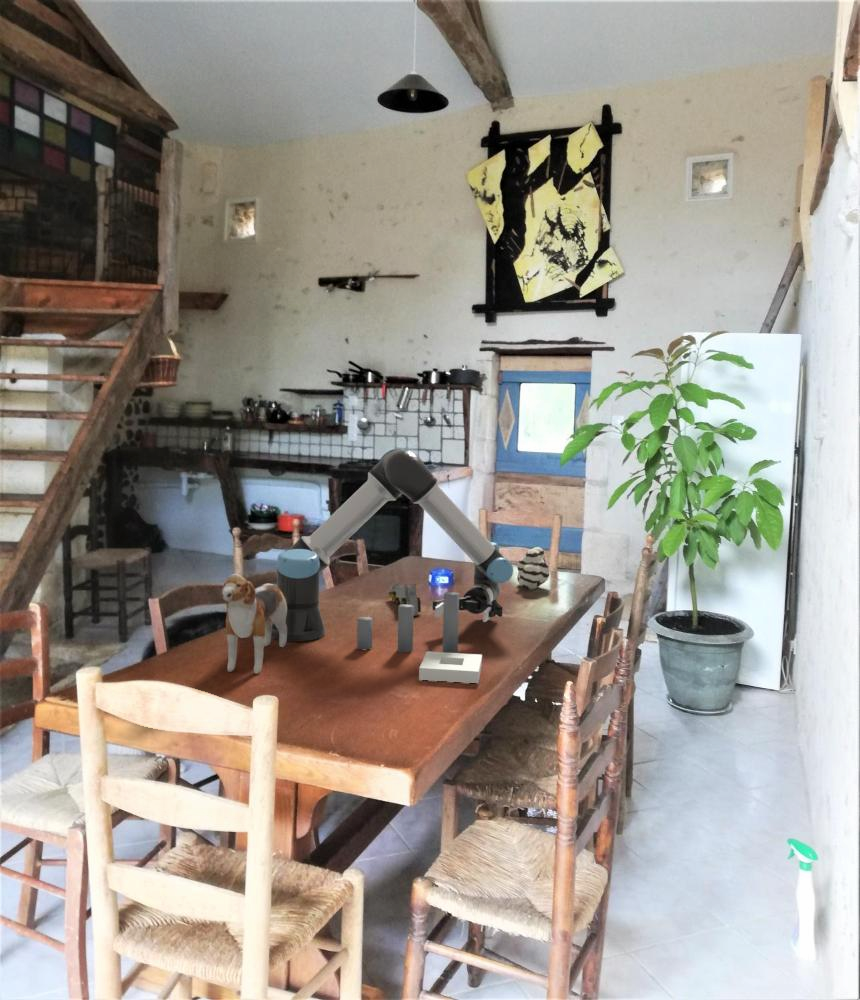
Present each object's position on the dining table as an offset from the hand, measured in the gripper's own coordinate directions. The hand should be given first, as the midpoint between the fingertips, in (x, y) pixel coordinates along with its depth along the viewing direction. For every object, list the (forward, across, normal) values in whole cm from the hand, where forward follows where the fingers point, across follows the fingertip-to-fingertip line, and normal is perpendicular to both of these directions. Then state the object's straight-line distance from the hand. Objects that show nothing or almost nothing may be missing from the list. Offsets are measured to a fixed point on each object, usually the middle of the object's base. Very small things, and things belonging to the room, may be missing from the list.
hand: (460, 614), depth 220 cm
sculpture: (-84, -6, -9) cm, 85 cm away
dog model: (+34, +43, -9) cm, 56 cm away
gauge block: (+25, -4, -8) cm, 27 cm away
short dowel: (+12, +23, -8) cm, 27 cm away
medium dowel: (+11, +12, -8) cm, 18 cm away
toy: (-36, +28, -9) cm, 47 cm away
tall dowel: (+8, 0, -8) cm, 12 cm away
